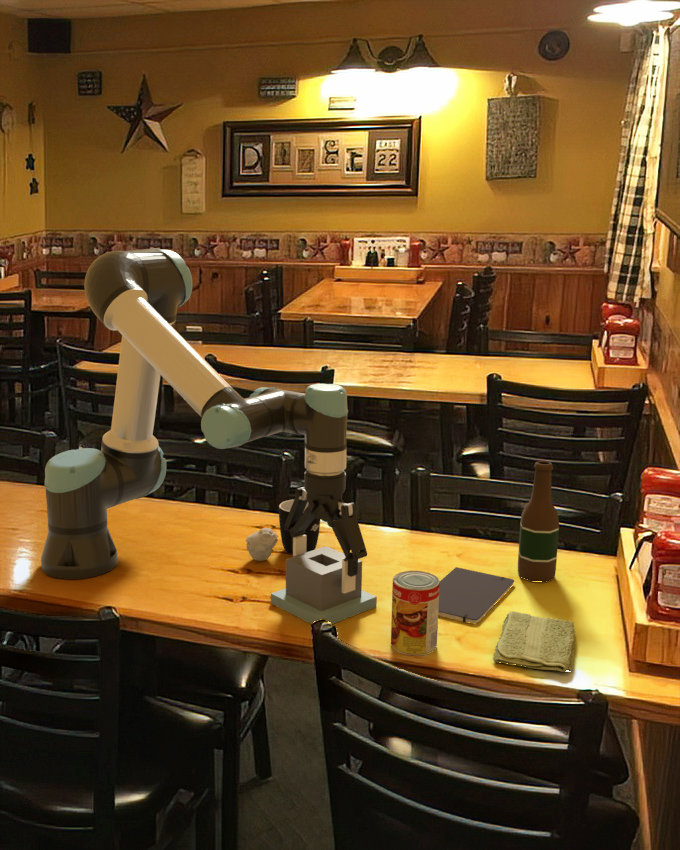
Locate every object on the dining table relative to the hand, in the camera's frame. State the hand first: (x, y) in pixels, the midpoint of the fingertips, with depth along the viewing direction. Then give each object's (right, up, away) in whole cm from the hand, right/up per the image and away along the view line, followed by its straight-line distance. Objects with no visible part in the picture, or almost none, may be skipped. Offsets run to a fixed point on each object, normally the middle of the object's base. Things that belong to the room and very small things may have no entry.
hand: (323, 579), depth 173 cm
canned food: (+16, -9, -14) cm, 23 cm away
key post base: (0, -5, +1) cm, 5 cm away
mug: (-5, +2, +30) cm, 30 cm away
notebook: (+27, -5, +6) cm, 28 cm away
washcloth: (+37, -10, -14) cm, 40 cm away
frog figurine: (-13, 0, +22) cm, 26 cm away
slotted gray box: (0, -3, +1) cm, 3 cm away
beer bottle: (+43, -2, +16) cm, 46 cm away
